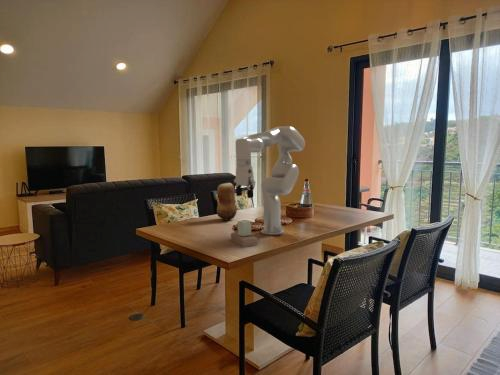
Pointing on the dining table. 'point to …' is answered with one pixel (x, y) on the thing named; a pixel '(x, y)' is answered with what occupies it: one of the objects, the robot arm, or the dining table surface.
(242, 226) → the block
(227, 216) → the brown oblong lump
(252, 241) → the brick
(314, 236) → the dining table surface
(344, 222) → the dining table surface
